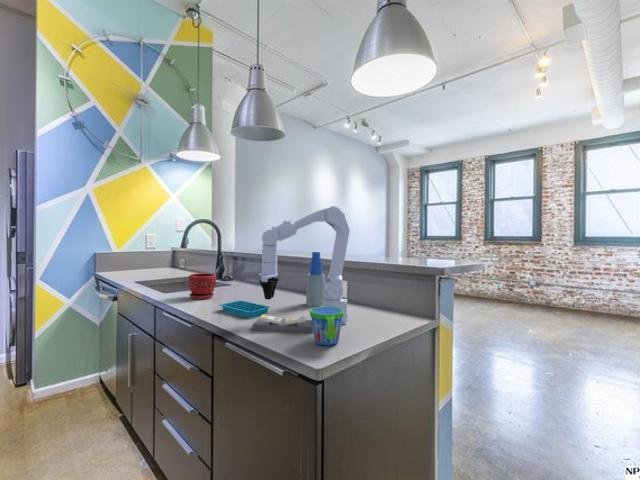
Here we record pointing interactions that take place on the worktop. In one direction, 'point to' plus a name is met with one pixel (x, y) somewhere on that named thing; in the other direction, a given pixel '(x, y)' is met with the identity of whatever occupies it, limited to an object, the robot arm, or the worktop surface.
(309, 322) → the power strip
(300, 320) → the rocker switch
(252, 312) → the ice cube tray
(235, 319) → the worktop surface
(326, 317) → the snack cup
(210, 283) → the plant pot
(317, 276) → the spray bottle
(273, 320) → the outlet rocker
